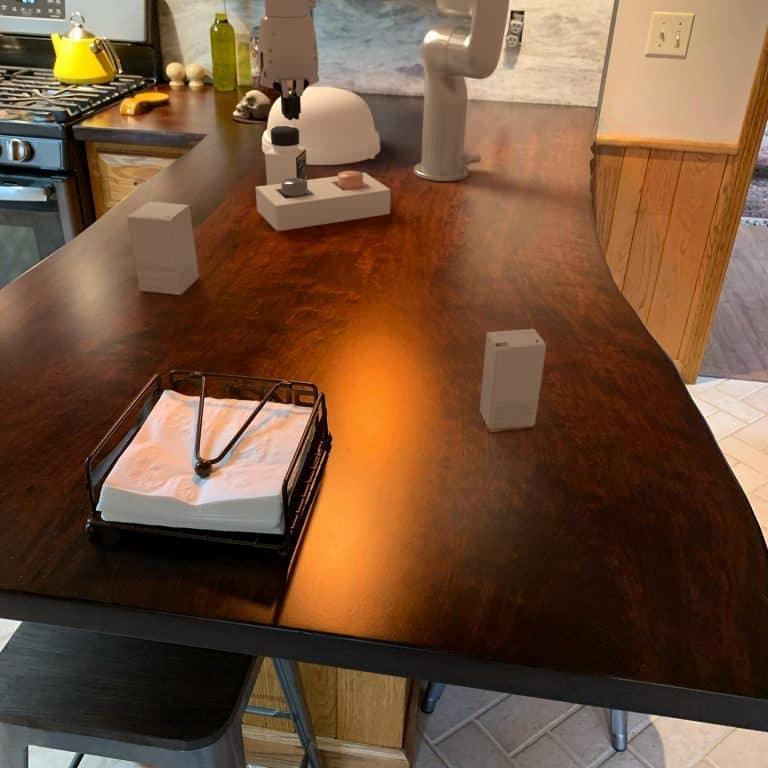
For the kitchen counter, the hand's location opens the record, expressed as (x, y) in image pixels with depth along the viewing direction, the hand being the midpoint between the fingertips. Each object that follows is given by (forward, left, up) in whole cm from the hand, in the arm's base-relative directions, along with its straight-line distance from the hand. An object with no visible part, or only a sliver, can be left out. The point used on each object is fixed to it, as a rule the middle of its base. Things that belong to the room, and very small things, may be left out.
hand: (291, 117), depth 142 cm
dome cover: (-24, -44, -20) cm, 54 cm away
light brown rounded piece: (-12, 0, -16) cm, 20 cm away
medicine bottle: (-6, -21, -19) cm, 29 cm away
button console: (-6, 0, -19) cm, 20 cm away
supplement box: (+30, +21, -19) cm, 41 cm away
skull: (-17, -78, -20) cm, 82 cm away
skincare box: (+2, +77, -19) cm, 79 cm away
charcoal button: (0, 0, -16) cm, 16 cm away
